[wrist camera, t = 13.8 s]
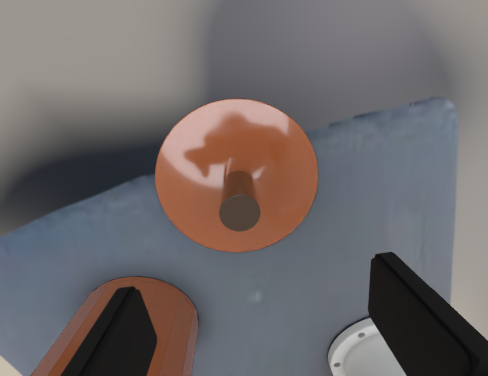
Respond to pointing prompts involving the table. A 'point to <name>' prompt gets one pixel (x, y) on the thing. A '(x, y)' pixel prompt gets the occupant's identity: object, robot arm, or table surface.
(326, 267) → the table surface
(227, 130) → the lid
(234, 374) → the table surface
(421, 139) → the table surface
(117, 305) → the robot arm
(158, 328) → the terracotta pot
